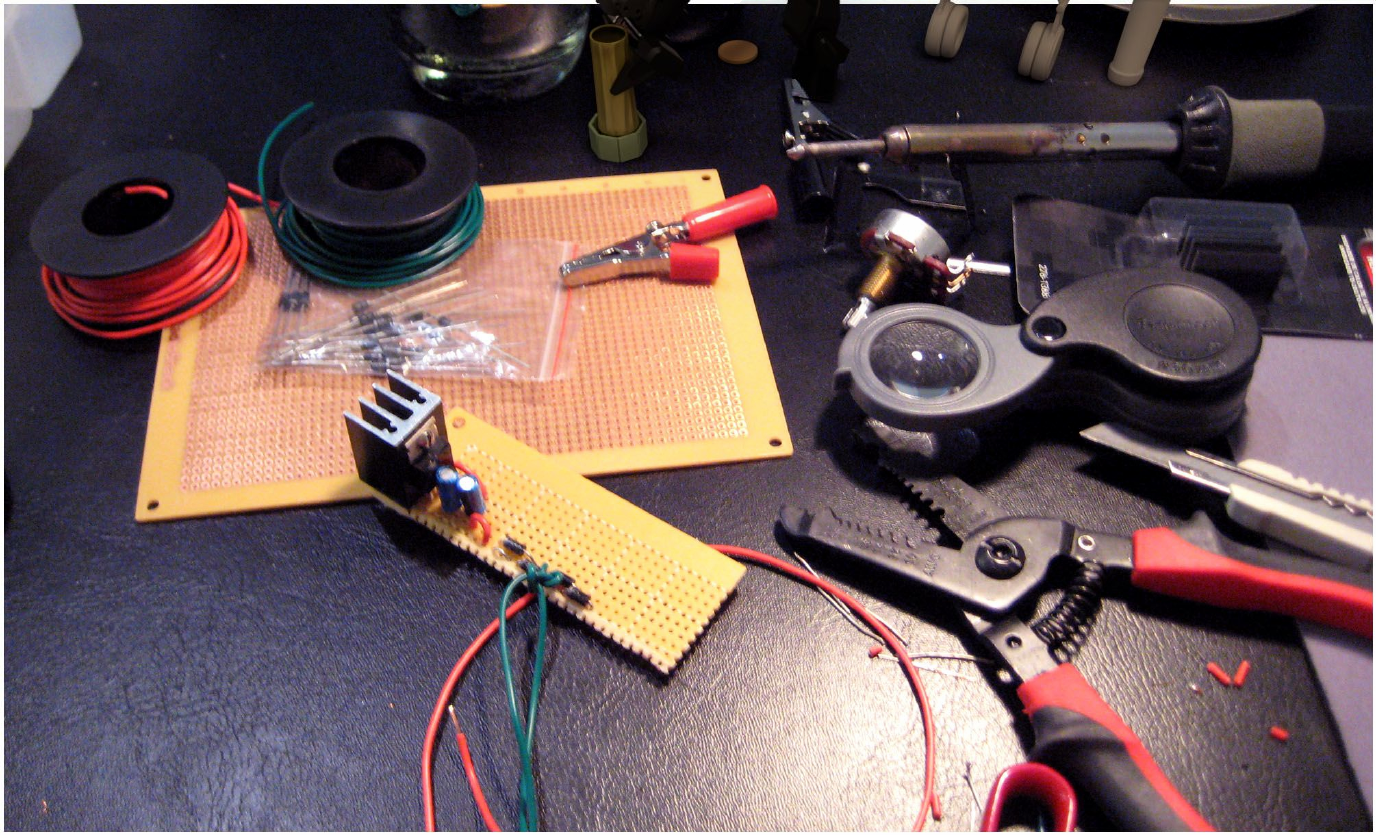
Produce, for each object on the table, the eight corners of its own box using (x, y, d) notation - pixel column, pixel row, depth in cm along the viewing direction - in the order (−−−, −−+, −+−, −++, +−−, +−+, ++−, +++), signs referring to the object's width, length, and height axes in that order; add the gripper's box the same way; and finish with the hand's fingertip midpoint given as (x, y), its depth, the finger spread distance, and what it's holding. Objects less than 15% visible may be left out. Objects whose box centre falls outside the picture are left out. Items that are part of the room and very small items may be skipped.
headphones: (919, 63, 151) (941, -58, 136) (935, 39, 156) (958, -81, 141) (1042, 92, 145) (1079, -32, 130) (1055, 65, 150) (1092, -57, 135)
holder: (653, 135, 141) (652, 112, 138) (634, 165, 136) (632, 142, 133) (604, 126, 142) (602, 103, 139) (584, 156, 138) (581, 133, 135)
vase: (638, 137, 134) (629, 45, 123) (596, 137, 135) (584, 46, 124) (640, 112, 138) (632, 21, 127) (599, 113, 139) (588, 22, 127)
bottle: (1136, 69, 148) (1199, -96, 129) (1143, 87, 145) (1208, -80, 126) (1103, 68, 149) (1160, -96, 129) (1109, 86, 146) (1168, -80, 126)
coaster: (762, 46, 156) (762, 43, 155) (751, 66, 152) (751, 63, 152) (724, 41, 157) (724, 37, 157) (713, 61, 154) (713, 57, 153)
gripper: (603, -73, 124) (539, 25, 130) (657, -14, 113) (584, 91, 119) (660, -28, 132) (597, 63, 138) (716, 31, 121) (645, 127, 127)
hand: (604, 84), depth 131 cm, fingers closed on vase, 5 cm apart
